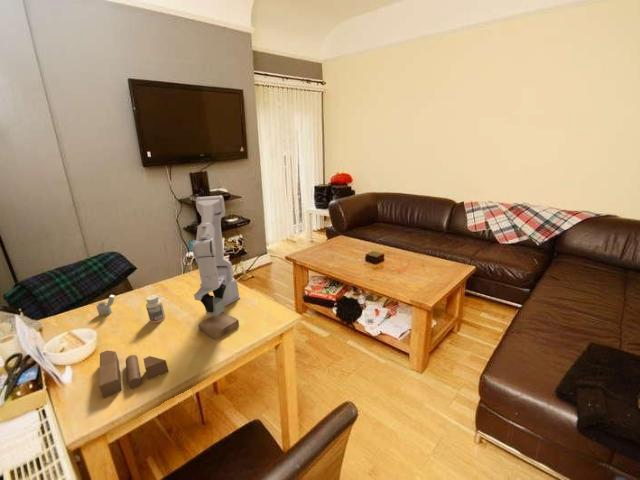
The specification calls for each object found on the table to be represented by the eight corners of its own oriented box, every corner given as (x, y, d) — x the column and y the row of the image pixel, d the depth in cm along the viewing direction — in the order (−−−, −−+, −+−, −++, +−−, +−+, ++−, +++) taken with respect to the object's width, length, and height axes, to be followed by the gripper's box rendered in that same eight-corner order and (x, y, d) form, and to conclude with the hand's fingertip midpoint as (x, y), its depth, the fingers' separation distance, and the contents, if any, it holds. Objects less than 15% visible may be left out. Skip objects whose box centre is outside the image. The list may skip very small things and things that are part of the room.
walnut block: (222, 317, 122) (221, 311, 121) (239, 326, 117) (238, 319, 116) (199, 331, 115) (198, 324, 114) (216, 341, 109) (214, 334, 108)
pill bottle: (153, 315, 125) (147, 294, 121) (167, 314, 125) (162, 292, 122) (147, 324, 120) (141, 301, 116) (162, 322, 120) (156, 300, 117)
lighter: (99, 315, 127) (93, 298, 124) (101, 313, 128) (95, 295, 126) (117, 313, 127) (112, 296, 125) (119, 311, 129) (114, 294, 126)
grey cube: (214, 307, 116) (212, 296, 114) (224, 309, 115) (222, 298, 113) (206, 314, 112) (204, 303, 111) (216, 316, 111) (214, 305, 109)
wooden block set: (97, 386, 85) (97, 349, 99) (103, 402, 86) (102, 364, 101) (165, 359, 93) (157, 329, 107) (169, 375, 95) (160, 343, 109)
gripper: (212, 263, 116) (218, 296, 120) (184, 281, 103) (191, 317, 108) (229, 265, 113) (234, 298, 118) (201, 284, 101) (208, 320, 105)
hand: (214, 307), depth 113 cm, fingers closed on grey cube, 4 cm apart
